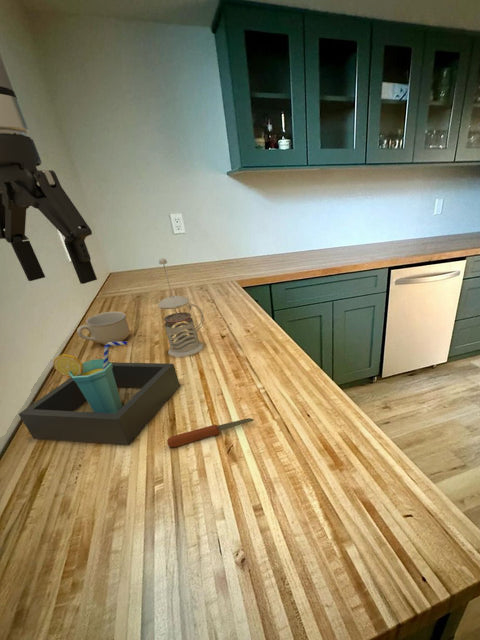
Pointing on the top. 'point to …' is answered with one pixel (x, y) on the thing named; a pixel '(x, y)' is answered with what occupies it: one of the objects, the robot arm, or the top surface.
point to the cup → (93, 379)
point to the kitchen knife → (203, 433)
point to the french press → (185, 342)
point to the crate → (108, 428)
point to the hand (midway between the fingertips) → (62, 280)
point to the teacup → (106, 327)
